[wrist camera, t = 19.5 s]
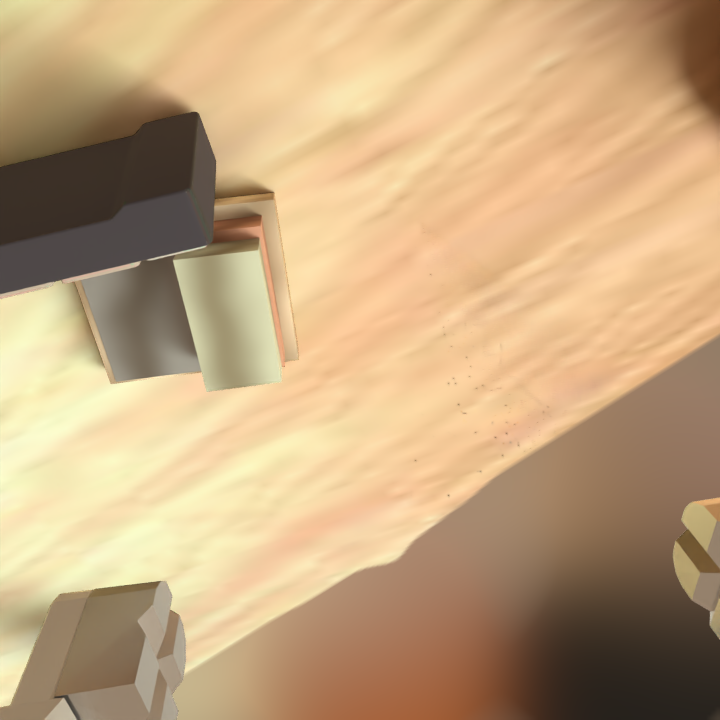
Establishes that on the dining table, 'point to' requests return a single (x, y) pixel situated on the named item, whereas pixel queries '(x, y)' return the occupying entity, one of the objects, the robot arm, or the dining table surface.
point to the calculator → (107, 206)
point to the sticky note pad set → (201, 306)
